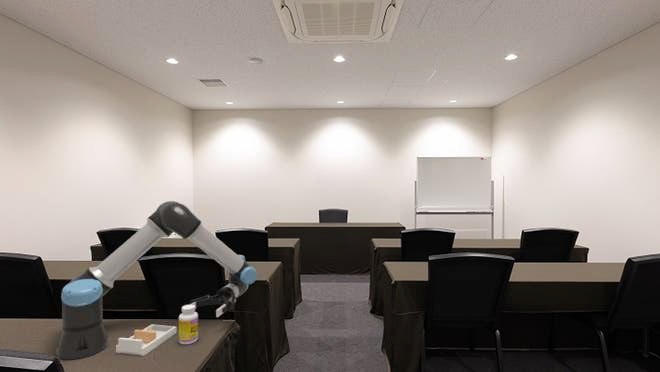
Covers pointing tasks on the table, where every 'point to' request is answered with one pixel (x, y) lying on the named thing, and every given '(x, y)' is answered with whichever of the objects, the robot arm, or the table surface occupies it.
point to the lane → (141, 348)
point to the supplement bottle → (188, 325)
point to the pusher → (145, 335)
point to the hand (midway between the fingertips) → (201, 312)
